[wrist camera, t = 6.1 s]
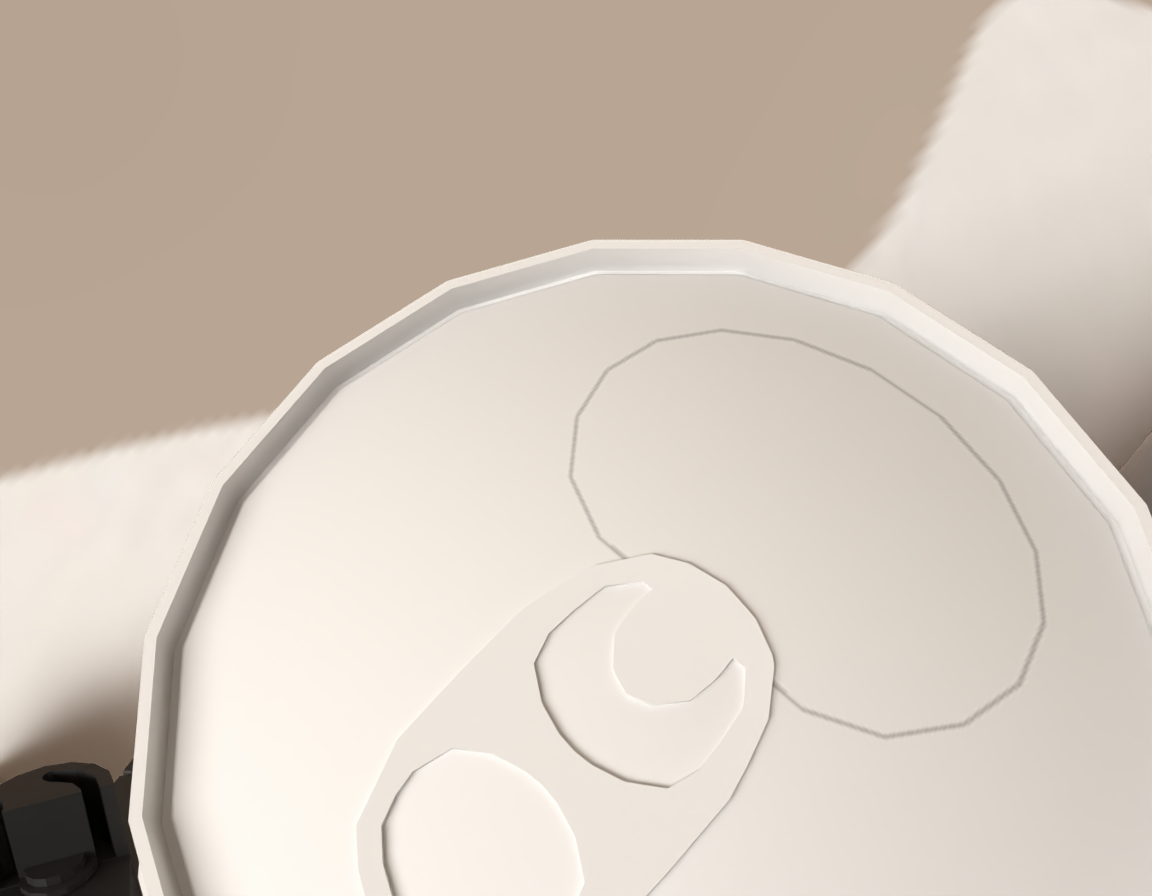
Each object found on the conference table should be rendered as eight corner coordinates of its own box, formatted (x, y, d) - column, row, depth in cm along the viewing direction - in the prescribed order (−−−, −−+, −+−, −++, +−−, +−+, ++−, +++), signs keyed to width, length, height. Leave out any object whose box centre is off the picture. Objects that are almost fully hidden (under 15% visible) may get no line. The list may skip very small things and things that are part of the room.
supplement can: (647, 598, 23) (613, 37, 10) (977, 880, 20) (1588, 623, 7) (366, 894, 21) (-186, 689, 7) (690, 1266, 17) (743, 2073, 4)
